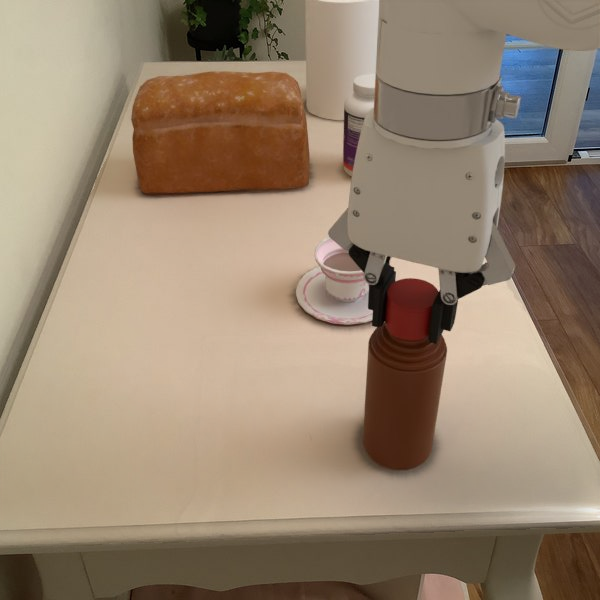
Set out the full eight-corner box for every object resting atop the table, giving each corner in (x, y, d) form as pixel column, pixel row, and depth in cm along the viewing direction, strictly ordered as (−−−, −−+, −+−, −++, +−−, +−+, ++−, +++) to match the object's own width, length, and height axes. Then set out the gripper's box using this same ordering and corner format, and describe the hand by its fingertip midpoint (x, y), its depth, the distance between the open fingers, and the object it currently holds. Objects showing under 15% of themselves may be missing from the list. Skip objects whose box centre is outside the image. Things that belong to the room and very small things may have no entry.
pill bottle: (360, 155, 110) (363, 67, 101) (403, 167, 106) (410, 77, 97) (332, 174, 105) (333, 83, 96) (377, 188, 101) (382, 94, 92)
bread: (147, 158, 110) (131, 62, 101) (306, 151, 111) (305, 56, 102) (136, 199, 100) (116, 96, 90) (312, 192, 100) (311, 89, 91)
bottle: (440, 429, 64) (464, 284, 53) (420, 479, 59) (441, 333, 49) (376, 408, 66) (387, 266, 55) (352, 455, 61) (359, 310, 51)
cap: (441, 316, 54) (446, 285, 52) (427, 347, 52) (431, 315, 50) (394, 304, 56) (396, 273, 54) (377, 332, 53) (379, 301, 51)
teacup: (385, 334, 74) (389, 290, 71) (282, 316, 77) (280, 272, 74) (404, 274, 83) (408, 231, 80) (311, 259, 86) (311, 217, 83)
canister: (336, 87, 134) (338, -21, 122) (392, 103, 127) (400, -10, 115) (291, 108, 126) (288, -6, 114) (349, 126, 119) (352, 7, 107)
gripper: (580, 101, 42) (525, 325, 53) (335, 67, 48) (332, 275, 59) (561, 149, 37) (505, 386, 48) (288, 104, 43) (295, 324, 54)
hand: (409, 323), depth 54 cm, fingers closed on cap, 4 cm apart
